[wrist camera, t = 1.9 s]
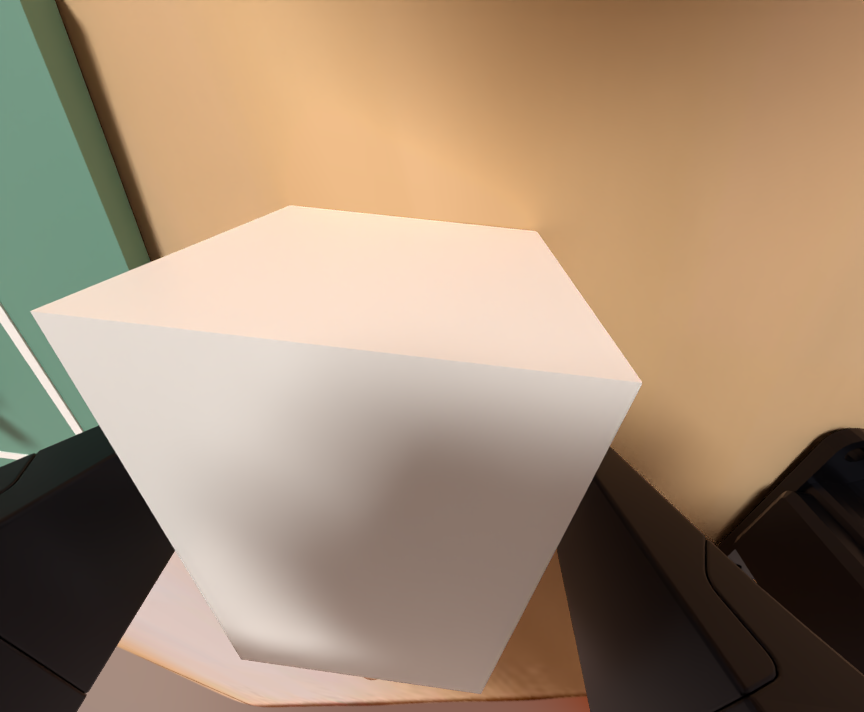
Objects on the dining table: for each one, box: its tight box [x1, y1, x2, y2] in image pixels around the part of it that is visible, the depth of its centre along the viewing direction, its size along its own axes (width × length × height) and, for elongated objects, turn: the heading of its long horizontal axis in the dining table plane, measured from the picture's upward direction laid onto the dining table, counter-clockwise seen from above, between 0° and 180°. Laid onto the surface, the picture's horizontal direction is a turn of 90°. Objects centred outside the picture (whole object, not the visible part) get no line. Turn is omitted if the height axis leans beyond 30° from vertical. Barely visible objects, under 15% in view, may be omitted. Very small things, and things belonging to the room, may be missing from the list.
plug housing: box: [30, 205, 642, 694], centre depth 8 cm, size 5×12×5 cm, turn 175°
